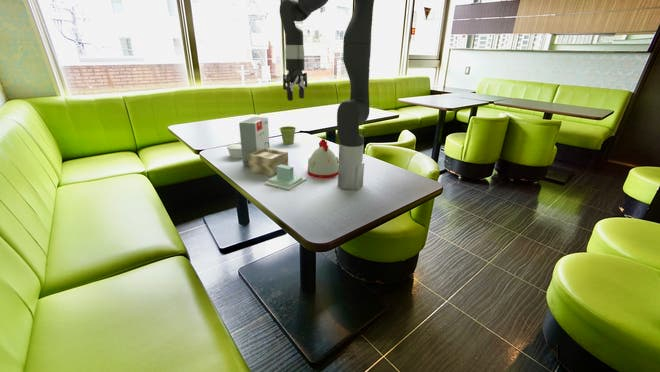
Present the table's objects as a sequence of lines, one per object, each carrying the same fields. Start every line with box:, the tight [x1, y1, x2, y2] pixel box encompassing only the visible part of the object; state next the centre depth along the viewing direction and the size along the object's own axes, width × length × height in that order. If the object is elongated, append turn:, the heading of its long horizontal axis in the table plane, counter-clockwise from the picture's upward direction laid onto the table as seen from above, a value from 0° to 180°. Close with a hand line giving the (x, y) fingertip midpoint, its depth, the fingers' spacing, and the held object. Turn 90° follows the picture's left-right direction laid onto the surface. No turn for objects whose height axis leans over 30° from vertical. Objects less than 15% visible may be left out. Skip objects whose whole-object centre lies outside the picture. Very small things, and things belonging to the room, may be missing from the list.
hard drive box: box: [238, 116, 271, 167], centre depth 140 cm, size 16×8×20 cm, turn 168°
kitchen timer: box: [307, 138, 339, 180], centre depth 129 cm, size 14×14×15 cm
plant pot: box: [279, 126, 297, 145], centre depth 172 cm, size 9×9×9 cm
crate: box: [248, 148, 289, 178], centre depth 131 cm, size 13×11×8 cm
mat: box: [263, 177, 307, 191], centre depth 121 cm, size 12×12×1 cm
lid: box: [267, 164, 303, 187], centre depth 120 cm, size 11×9×6 cm
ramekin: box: [227, 142, 242, 159], centre depth 150 cm, size 11×11×5 cm
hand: (296, 99), depth 126 cm, fingers open, 8 cm apart
